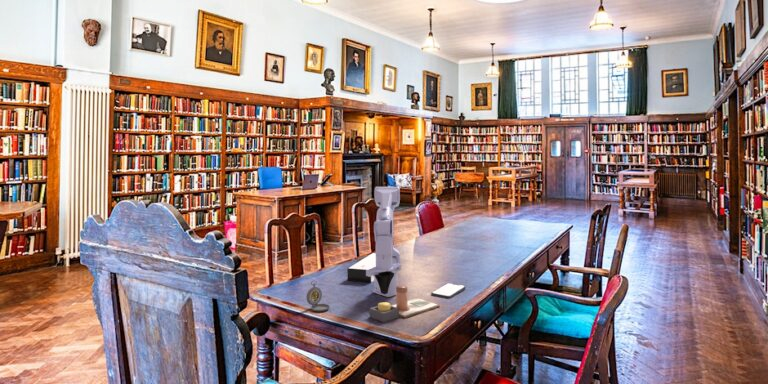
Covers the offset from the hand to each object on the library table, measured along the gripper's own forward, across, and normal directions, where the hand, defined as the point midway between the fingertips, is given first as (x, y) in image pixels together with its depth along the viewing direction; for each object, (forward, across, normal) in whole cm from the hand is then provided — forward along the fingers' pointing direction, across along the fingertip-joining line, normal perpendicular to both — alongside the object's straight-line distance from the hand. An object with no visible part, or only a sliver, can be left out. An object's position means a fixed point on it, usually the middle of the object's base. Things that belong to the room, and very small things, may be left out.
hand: (384, 293), depth 155 cm
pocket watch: (+9, -12, +23) cm, 27 cm away
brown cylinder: (+8, +8, 0) cm, 11 cm away
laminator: (+9, +35, +50) cm, 61 cm away
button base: (+8, 0, 0) cm, 8 cm away
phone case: (+9, +39, +4) cm, 40 cm away
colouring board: (+8, +13, 0) cm, 15 cm away
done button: (+7, 0, 0) cm, 7 cm away
